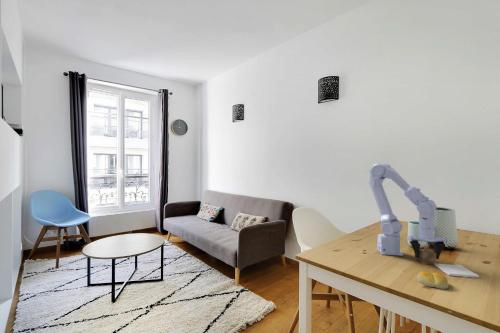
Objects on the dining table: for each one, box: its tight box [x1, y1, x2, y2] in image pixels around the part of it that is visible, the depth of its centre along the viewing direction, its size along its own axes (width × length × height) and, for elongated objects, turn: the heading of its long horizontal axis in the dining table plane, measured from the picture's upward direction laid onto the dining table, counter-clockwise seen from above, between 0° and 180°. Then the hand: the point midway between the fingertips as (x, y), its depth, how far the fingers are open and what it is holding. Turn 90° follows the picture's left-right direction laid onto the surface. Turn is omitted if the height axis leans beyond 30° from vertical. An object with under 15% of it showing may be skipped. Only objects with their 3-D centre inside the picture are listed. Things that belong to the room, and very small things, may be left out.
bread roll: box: [417, 270, 449, 290], centre depth 88 cm, size 8×9×4 cm
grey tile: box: [434, 262, 480, 279], centre depth 98 cm, size 10×10×1 cm
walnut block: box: [417, 248, 437, 266], centre depth 108 cm, size 5×5×5 cm
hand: (426, 257), depth 108 cm, fingers open, 7 cm apart
